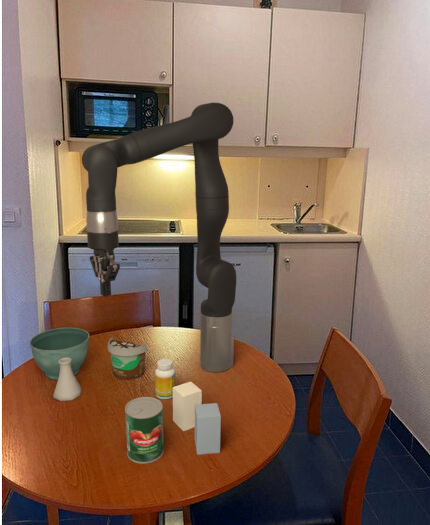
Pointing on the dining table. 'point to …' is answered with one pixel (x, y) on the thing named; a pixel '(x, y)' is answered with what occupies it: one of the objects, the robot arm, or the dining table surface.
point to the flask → (66, 382)
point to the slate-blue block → (207, 428)
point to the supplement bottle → (164, 379)
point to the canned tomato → (144, 429)
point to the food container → (127, 359)
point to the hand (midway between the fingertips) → (105, 295)
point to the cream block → (185, 404)
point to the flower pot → (60, 349)
